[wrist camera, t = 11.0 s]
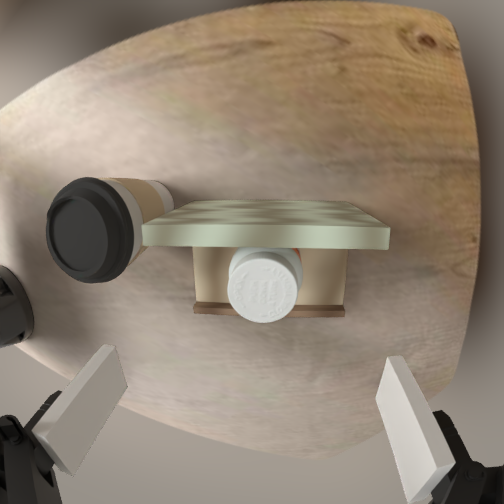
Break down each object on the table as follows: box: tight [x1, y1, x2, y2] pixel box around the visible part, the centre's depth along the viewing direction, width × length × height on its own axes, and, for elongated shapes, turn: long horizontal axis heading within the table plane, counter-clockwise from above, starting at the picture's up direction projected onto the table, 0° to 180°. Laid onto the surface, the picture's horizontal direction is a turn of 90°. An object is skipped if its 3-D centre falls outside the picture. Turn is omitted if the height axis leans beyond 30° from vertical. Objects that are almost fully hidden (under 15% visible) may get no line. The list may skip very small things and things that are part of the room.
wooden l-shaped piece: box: [141, 200, 390, 317], centre depth 28 cm, size 17×12×14 cm
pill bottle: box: [227, 247, 303, 323], centre depth 27 cm, size 6×6×11 cm
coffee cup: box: [46, 177, 174, 283], centre depth 27 cm, size 9×9×15 cm
